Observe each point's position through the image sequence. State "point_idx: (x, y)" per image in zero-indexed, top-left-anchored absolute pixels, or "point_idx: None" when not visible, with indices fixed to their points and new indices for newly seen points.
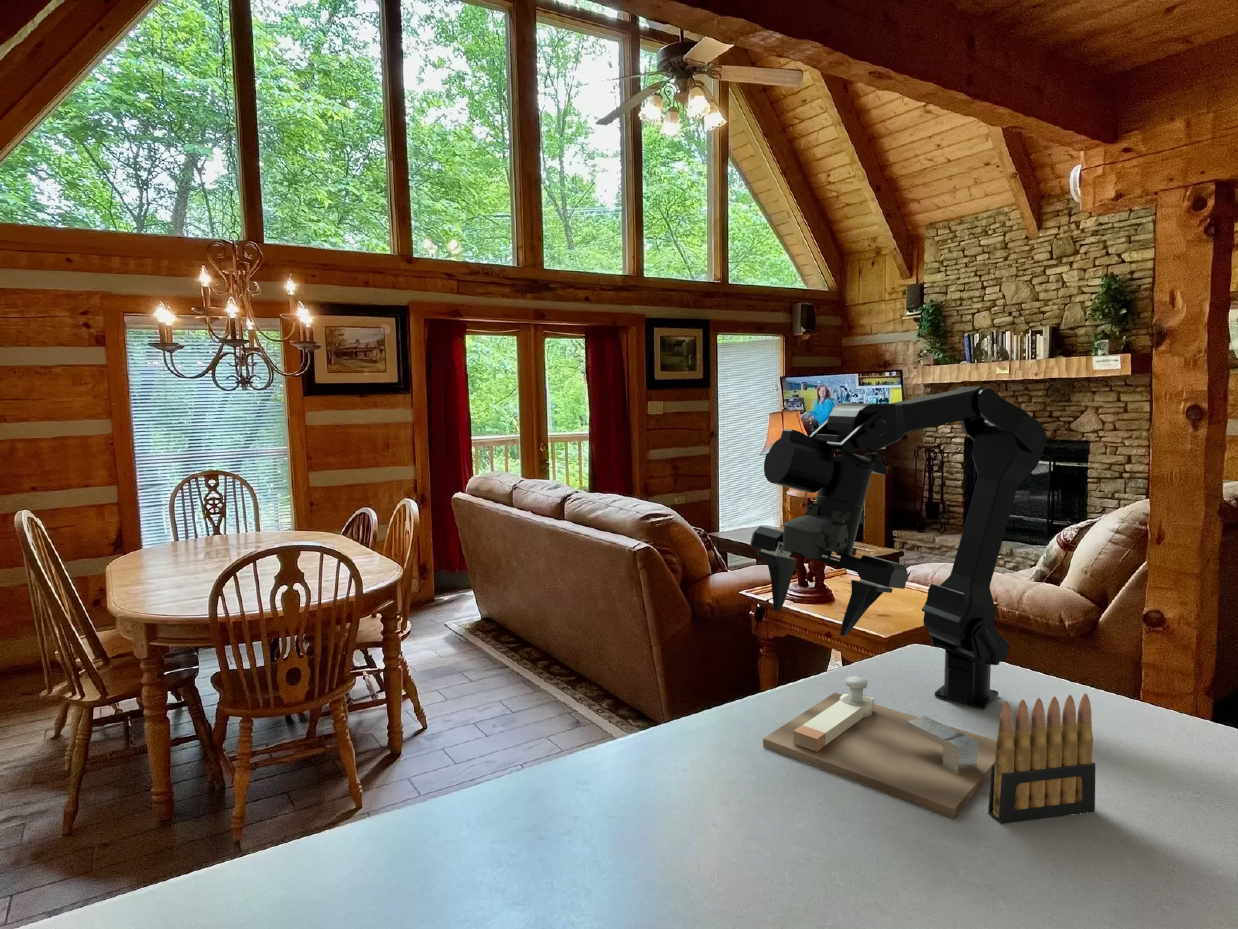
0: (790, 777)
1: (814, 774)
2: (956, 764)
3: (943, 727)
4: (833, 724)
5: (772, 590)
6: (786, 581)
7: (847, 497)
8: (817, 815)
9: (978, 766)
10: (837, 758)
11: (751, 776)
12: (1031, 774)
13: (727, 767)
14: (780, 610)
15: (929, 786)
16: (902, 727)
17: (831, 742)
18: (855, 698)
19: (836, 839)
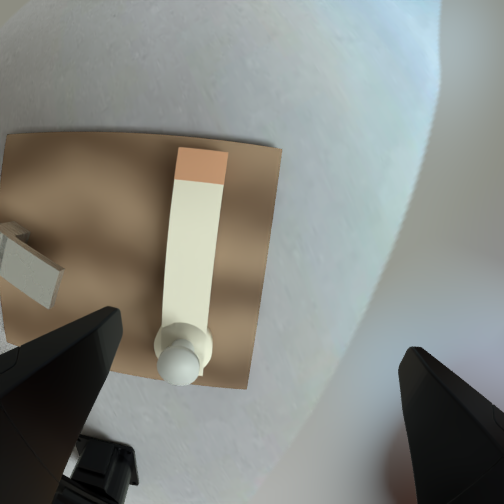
0: (202, 88)
1: (174, 116)
2: (8, 223)
3: (18, 281)
4: (174, 222)
5: (471, 388)
6: (435, 472)
7: None
8: (141, 35)
9: None
10: (148, 155)
11: (253, 62)
12: None
13: (295, 67)
14: (398, 371)
15: (31, 165)
16: None
17: None
18: (178, 342)
19: (112, 14)
